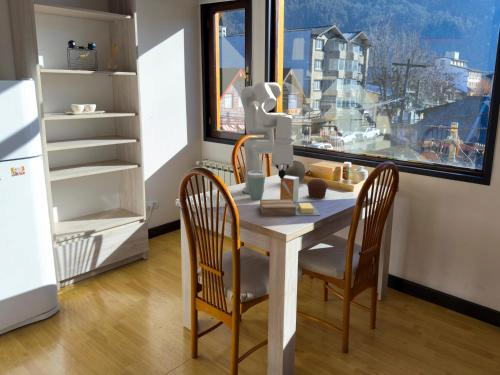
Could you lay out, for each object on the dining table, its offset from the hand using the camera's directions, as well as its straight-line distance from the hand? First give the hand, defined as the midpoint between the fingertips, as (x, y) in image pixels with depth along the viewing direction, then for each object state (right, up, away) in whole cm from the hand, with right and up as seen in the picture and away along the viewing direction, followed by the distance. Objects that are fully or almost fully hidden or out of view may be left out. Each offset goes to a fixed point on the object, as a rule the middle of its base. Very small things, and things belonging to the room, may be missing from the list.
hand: (281, 177), depth 204 cm
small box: (+6, -12, +22) cm, 26 cm away
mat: (+12, -16, +4) cm, 21 cm away
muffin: (+22, -10, +30) cm, 39 cm away
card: (+12, -14, +3) cm, 19 cm away
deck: (-2, -17, +3) cm, 17 cm away
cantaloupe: (+12, -3, +58) cm, 59 cm away
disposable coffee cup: (-12, -11, +25) cm, 30 cm away
